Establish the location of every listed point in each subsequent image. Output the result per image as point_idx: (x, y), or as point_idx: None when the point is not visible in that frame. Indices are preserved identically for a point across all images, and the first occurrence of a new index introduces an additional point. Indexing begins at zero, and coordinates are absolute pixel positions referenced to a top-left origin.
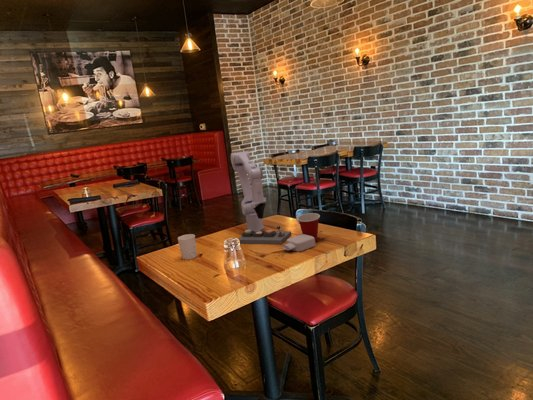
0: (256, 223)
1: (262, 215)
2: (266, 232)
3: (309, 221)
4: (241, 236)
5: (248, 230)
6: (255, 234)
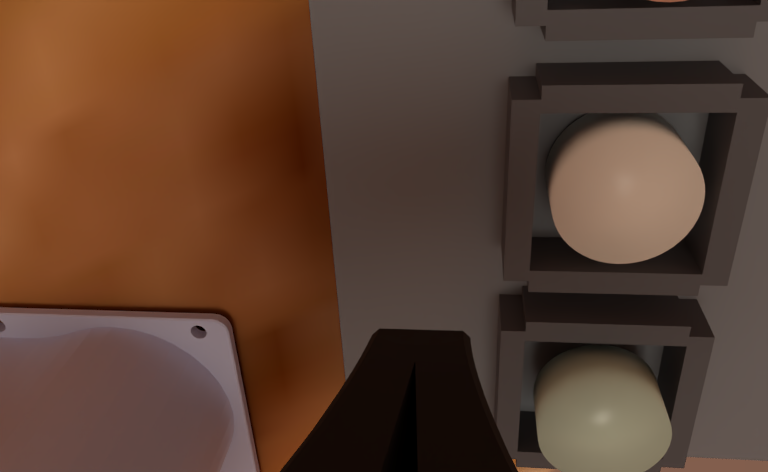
0: (127, 435)
1: (442, 383)
2: (633, 7)
3: None
4: None
5: (632, 418)
6: (735, 223)
